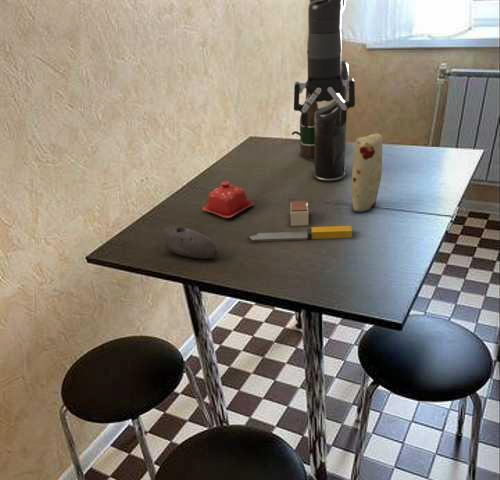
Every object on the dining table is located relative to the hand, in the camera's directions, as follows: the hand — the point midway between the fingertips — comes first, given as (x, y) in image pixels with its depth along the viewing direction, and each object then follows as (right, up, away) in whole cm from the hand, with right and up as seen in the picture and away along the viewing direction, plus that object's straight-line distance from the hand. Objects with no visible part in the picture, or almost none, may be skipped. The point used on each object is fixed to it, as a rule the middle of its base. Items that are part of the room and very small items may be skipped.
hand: (323, 126), depth 119 cm
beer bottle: (+4, +8, +51) cm, 52 cm away
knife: (-5, -26, +6) cm, 27 cm away
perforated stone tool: (-32, -31, +3) cm, 45 cm away
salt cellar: (-5, -21, +13) cm, 25 cm away
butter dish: (-24, -17, +22) cm, 37 cm away
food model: (+14, -17, +16) cm, 27 cm away
